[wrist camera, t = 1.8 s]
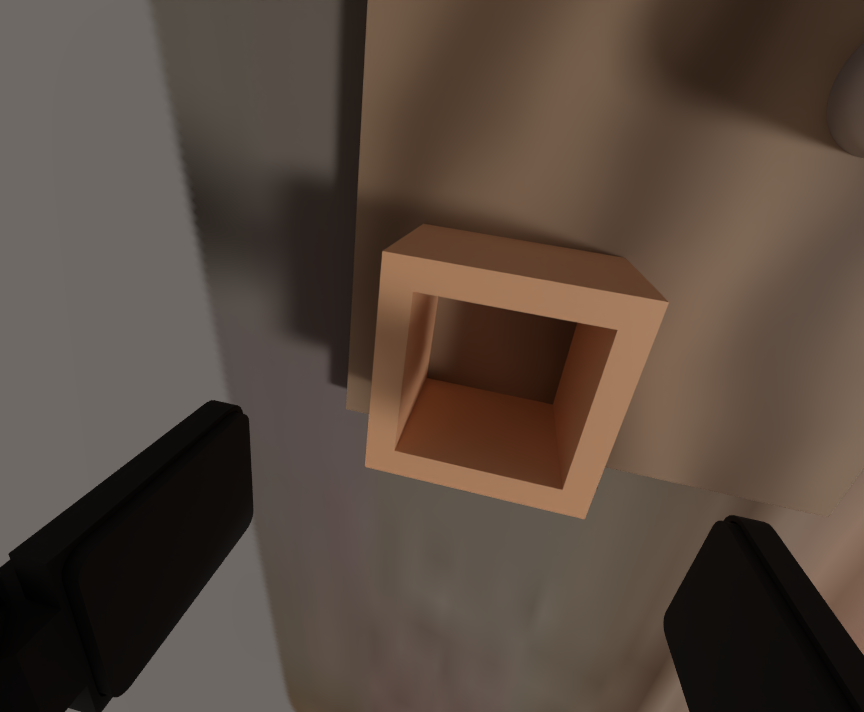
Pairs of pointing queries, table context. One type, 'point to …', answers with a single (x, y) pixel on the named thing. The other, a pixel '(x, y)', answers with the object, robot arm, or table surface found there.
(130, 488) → the robot arm
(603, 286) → the collar
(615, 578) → the table surface
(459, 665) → the table surface
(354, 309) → the post board
